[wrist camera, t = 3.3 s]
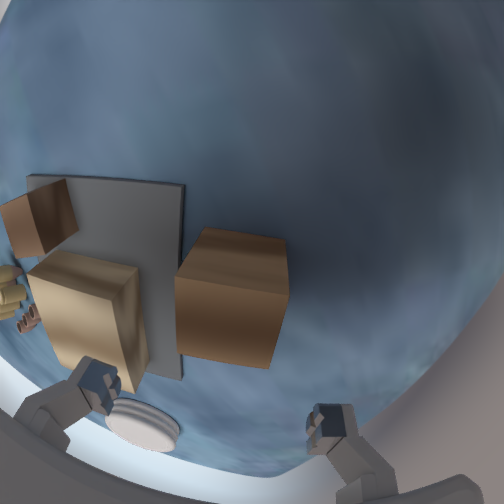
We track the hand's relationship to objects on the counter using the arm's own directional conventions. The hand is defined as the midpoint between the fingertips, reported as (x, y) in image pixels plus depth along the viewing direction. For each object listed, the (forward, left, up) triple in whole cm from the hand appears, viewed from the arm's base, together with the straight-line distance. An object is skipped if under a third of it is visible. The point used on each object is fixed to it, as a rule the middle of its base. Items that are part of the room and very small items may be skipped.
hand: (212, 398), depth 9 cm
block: (-3, -15, -9) cm, 17 cm away
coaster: (+25, -10, -10) cm, 29 cm away
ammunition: (+7, -24, -10) cm, 27 cm away
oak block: (-1, 0, -10) cm, 10 cm away
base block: (+5, -11, -9) cm, 15 cm away
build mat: (+3, -11, -10) cm, 15 cm away
